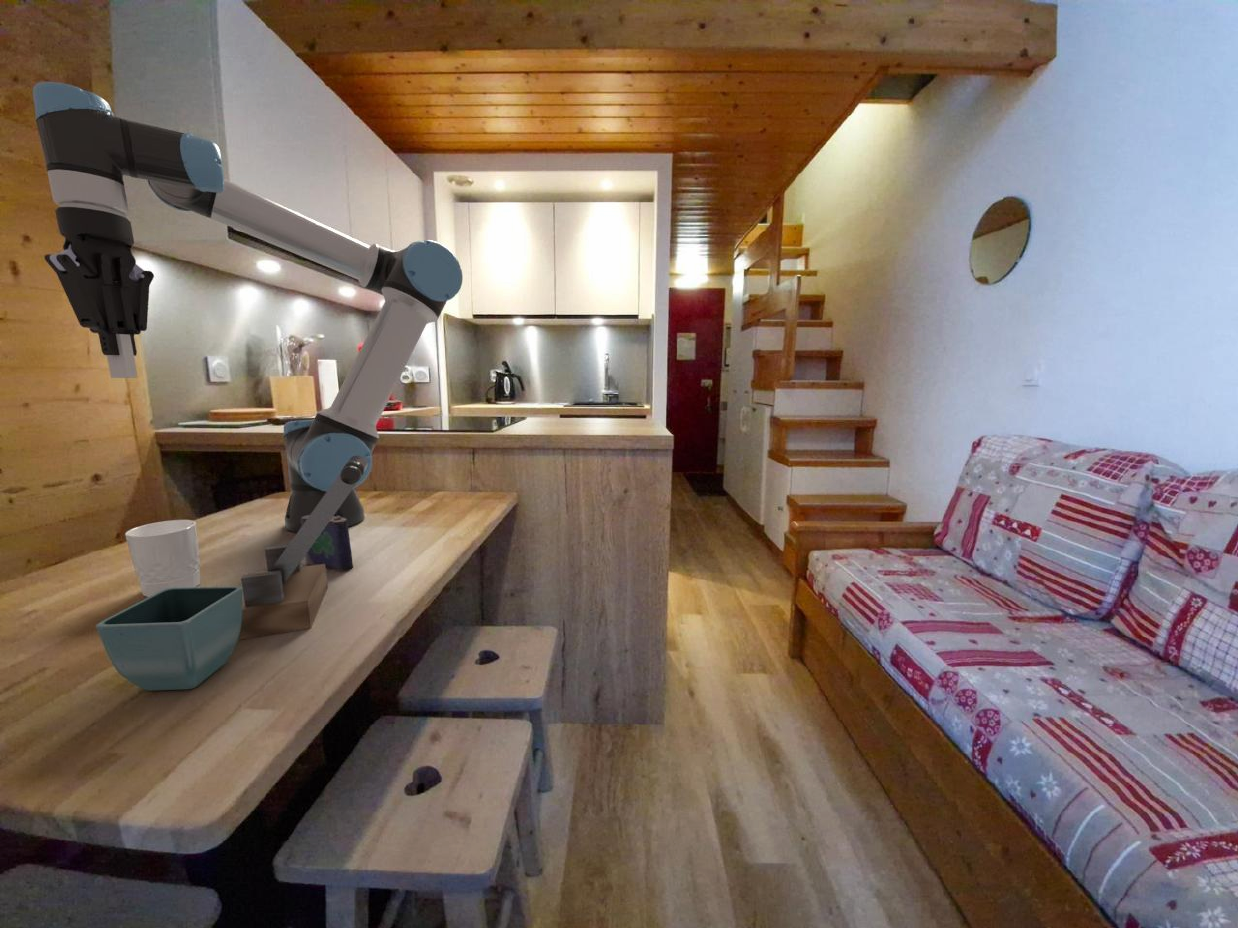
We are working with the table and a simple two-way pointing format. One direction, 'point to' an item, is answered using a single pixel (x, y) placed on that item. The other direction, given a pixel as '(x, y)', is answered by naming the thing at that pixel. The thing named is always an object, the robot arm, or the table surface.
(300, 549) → the lever
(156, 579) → the white cup
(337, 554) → the flask
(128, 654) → the flower pot
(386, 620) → the table surface
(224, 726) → the table surface
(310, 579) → the base
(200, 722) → the table surface
